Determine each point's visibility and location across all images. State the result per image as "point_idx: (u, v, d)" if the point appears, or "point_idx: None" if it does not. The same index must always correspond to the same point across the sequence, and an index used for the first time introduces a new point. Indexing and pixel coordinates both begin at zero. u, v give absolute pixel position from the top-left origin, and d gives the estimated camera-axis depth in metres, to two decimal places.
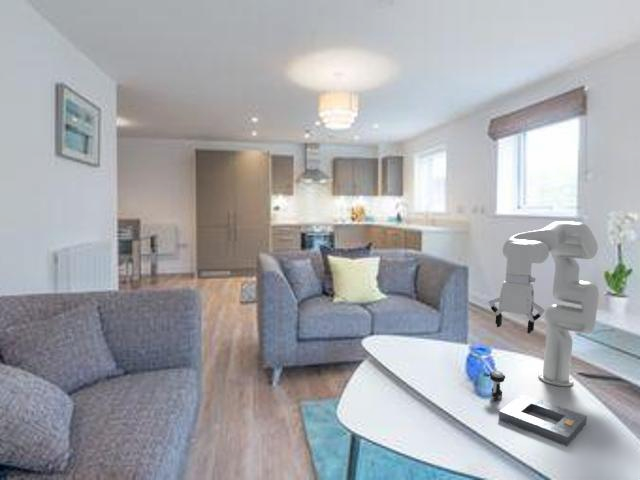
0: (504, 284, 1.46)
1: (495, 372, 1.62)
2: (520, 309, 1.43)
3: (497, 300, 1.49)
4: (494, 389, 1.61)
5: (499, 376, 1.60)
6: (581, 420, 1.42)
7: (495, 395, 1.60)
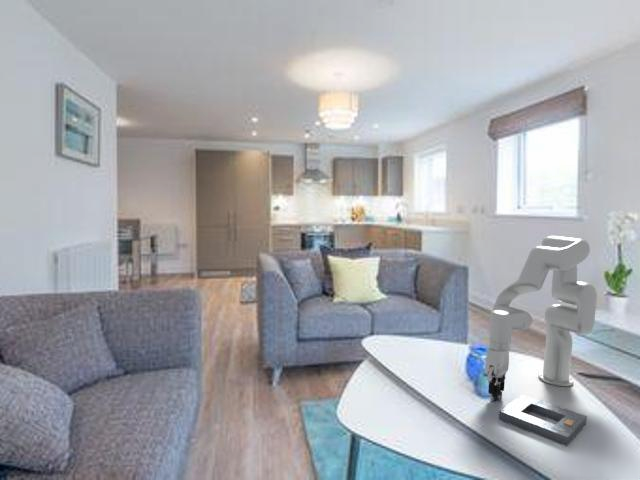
0: (500, 353, 1.56)
1: None
2: (505, 369, 1.61)
3: (493, 372, 1.57)
4: None
5: None
6: (581, 420, 1.42)
7: None
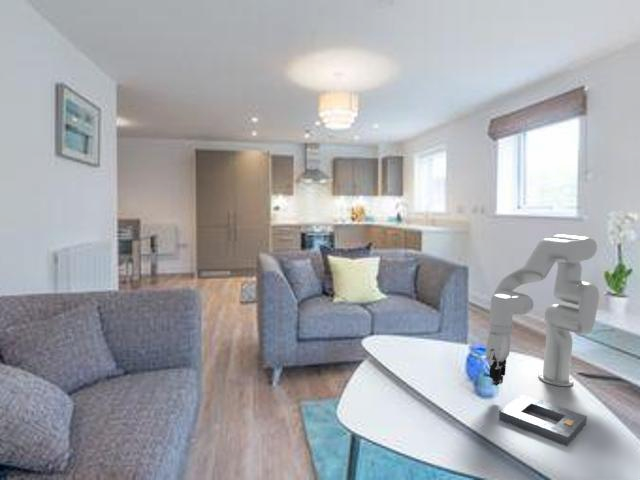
0: (501, 337, 1.55)
1: None
2: (507, 353, 1.60)
3: (494, 356, 1.56)
4: None
5: None
6: (581, 420, 1.42)
7: (496, 380, 1.59)
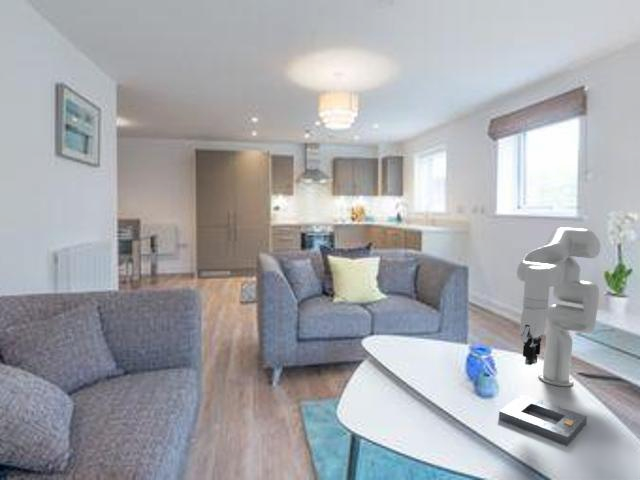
0: (537, 312, 1.43)
1: None
2: (542, 330, 1.48)
3: (528, 332, 1.44)
4: None
5: (535, 338, 1.46)
6: (581, 420, 1.42)
7: (530, 358, 1.47)
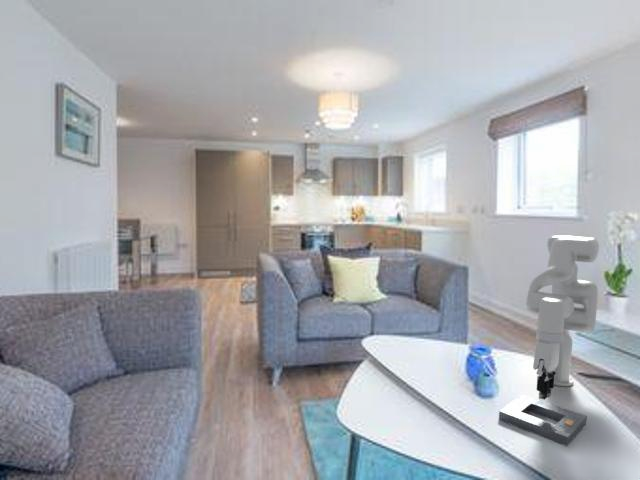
0: (551, 345, 1.39)
1: None
2: (556, 364, 1.44)
3: (543, 366, 1.40)
4: None
5: (549, 372, 1.43)
6: (581, 420, 1.42)
7: (544, 393, 1.43)
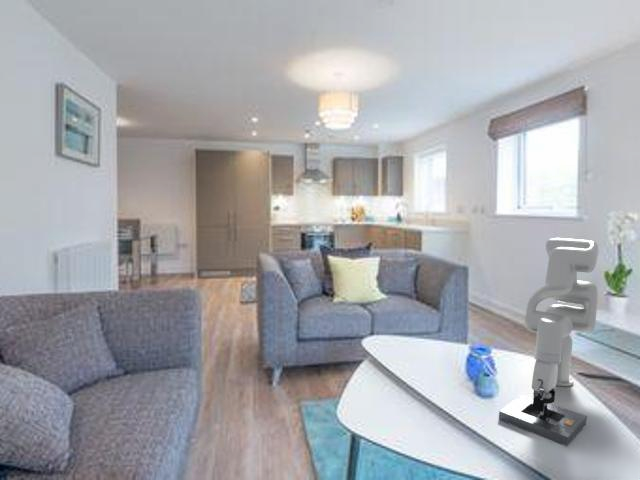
0: (550, 366, 1.40)
1: None
2: (554, 384, 1.45)
3: (541, 385, 1.40)
4: None
5: (547, 397, 1.44)
6: (581, 420, 1.42)
7: (543, 418, 1.44)
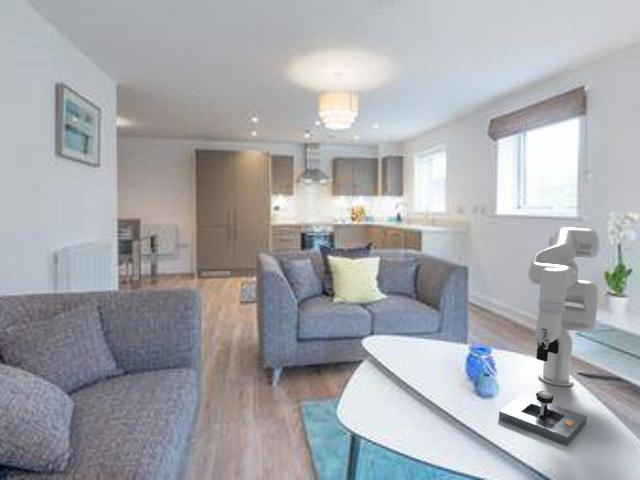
0: (554, 315, 1.39)
1: (542, 392, 1.46)
2: (558, 334, 1.44)
3: (544, 334, 1.39)
4: (541, 411, 1.45)
5: (547, 397, 1.44)
6: (581, 420, 1.42)
7: (543, 418, 1.44)
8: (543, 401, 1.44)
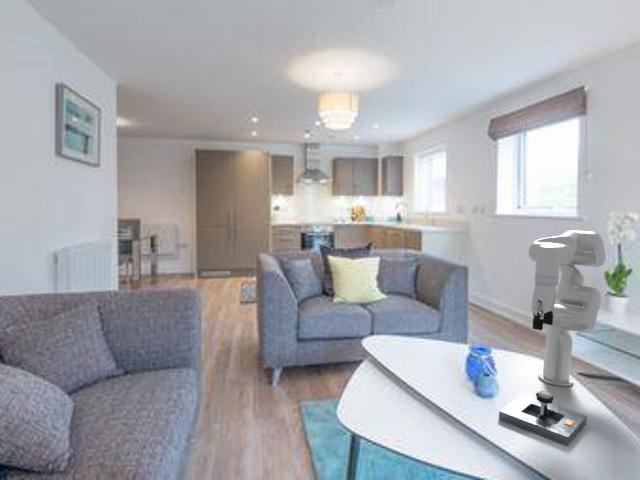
0: (548, 287, 1.52)
1: (542, 392, 1.46)
2: (552, 306, 1.57)
3: (540, 305, 1.52)
4: (541, 411, 1.45)
5: (547, 397, 1.44)
6: (581, 420, 1.42)
7: (543, 418, 1.44)
8: (543, 401, 1.44)
